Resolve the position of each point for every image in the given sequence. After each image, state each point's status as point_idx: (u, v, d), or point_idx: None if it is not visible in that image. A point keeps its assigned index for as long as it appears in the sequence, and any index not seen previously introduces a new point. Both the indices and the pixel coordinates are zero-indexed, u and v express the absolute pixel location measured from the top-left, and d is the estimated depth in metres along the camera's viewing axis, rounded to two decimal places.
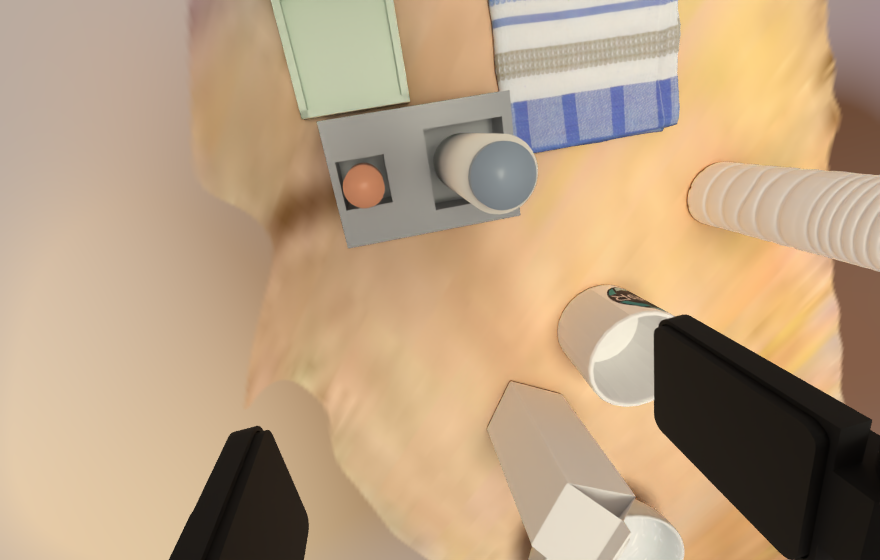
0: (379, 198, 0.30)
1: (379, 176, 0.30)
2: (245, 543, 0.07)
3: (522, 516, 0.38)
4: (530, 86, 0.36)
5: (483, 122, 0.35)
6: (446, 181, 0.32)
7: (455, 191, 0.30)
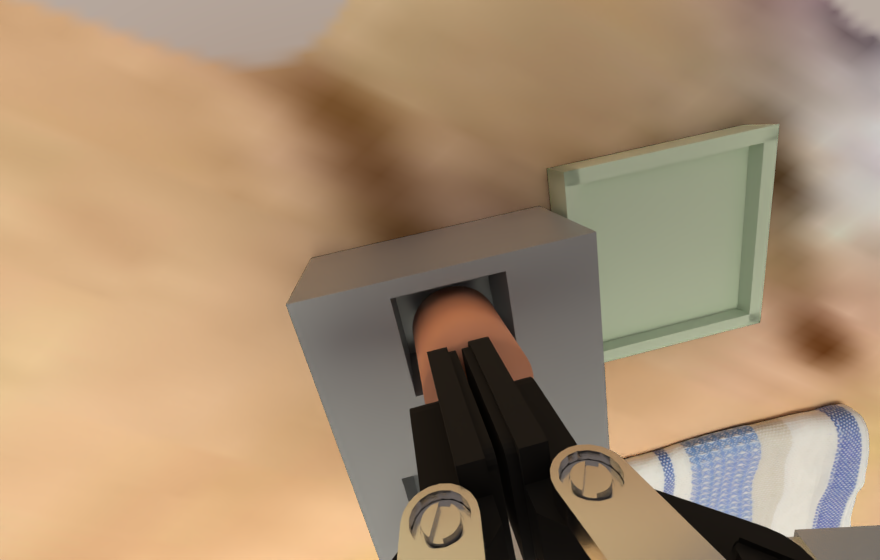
0: None
1: None
2: None
3: None
4: None
5: None
6: None
7: None
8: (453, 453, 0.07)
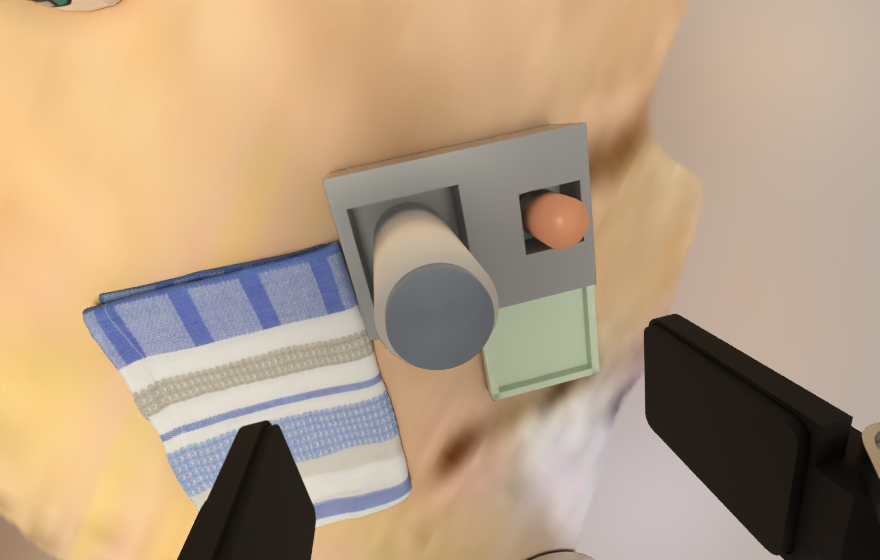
0: (546, 210, 0.23)
1: (543, 238, 0.23)
2: (256, 533, 0.07)
3: None
4: (326, 329, 0.29)
5: None
6: None
7: (454, 234, 0.20)
8: None
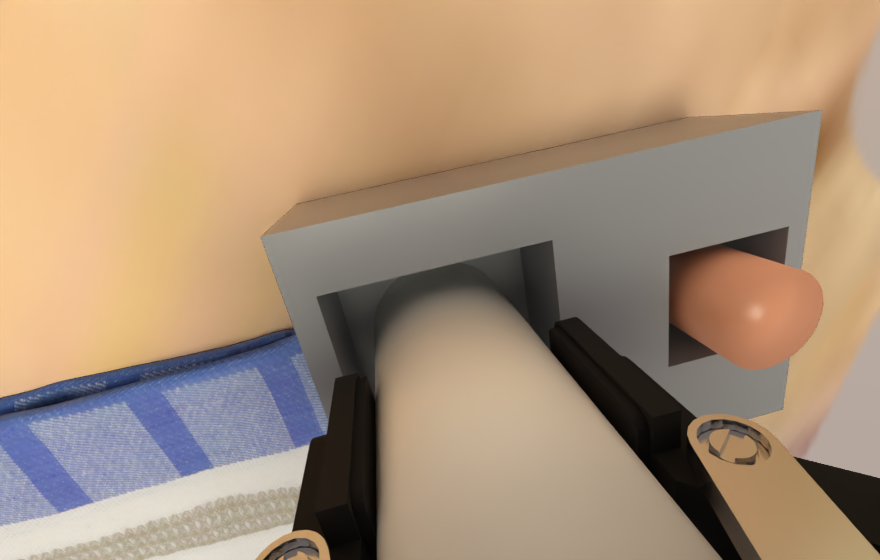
0: (744, 298, 0.11)
1: (728, 351, 0.11)
2: (371, 459, 0.08)
3: None
4: (293, 470, 0.17)
5: None
6: None
7: (576, 384, 0.08)
8: (318, 497, 0.07)
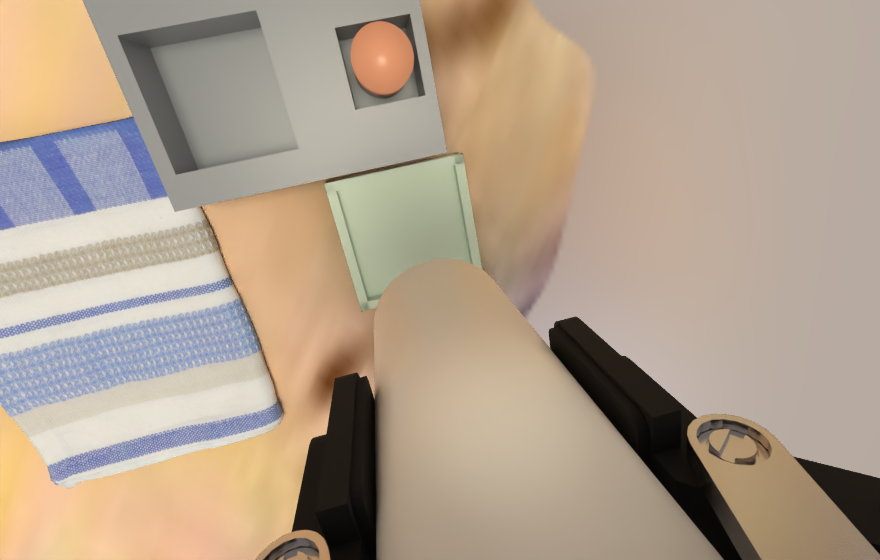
0: (357, 38, 0.19)
1: (359, 76, 0.20)
2: (371, 459, 0.08)
3: None
4: (152, 218, 0.25)
5: (209, 162, 0.24)
6: None
7: (577, 383, 0.08)
8: (318, 497, 0.07)
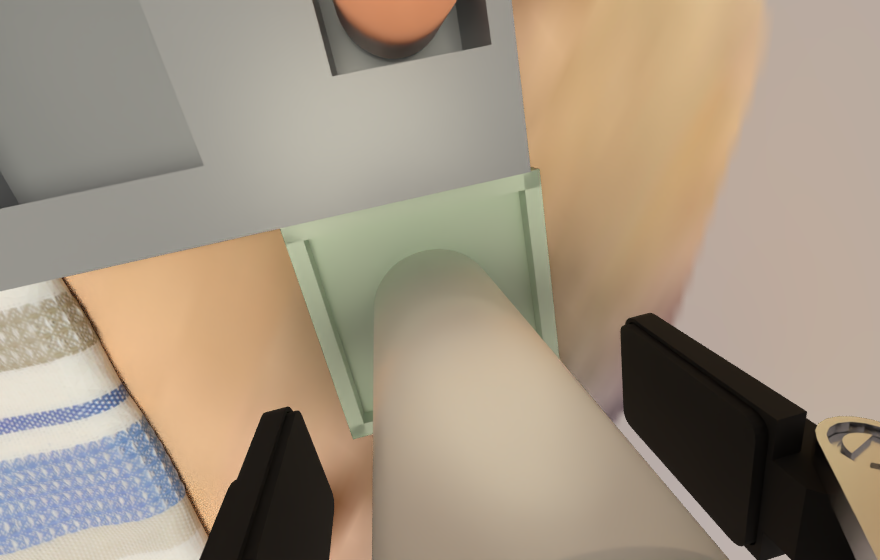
0: None
1: None
2: (285, 511, 0.07)
3: None
4: None
5: (42, 189, 0.12)
6: None
7: (545, 344, 0.10)
8: None
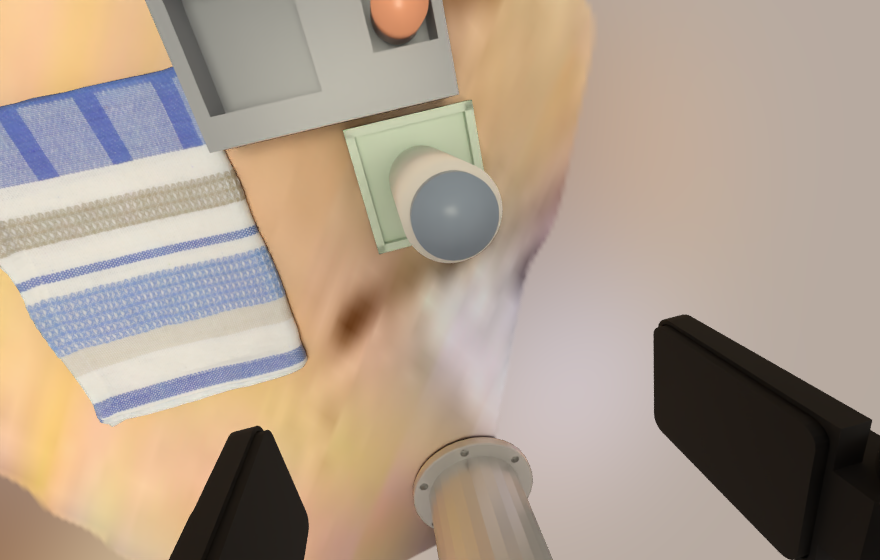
0: None
1: (379, 17, 0.21)
2: (245, 543, 0.07)
3: None
4: (184, 167, 0.27)
5: (237, 109, 0.26)
6: None
7: None
8: None
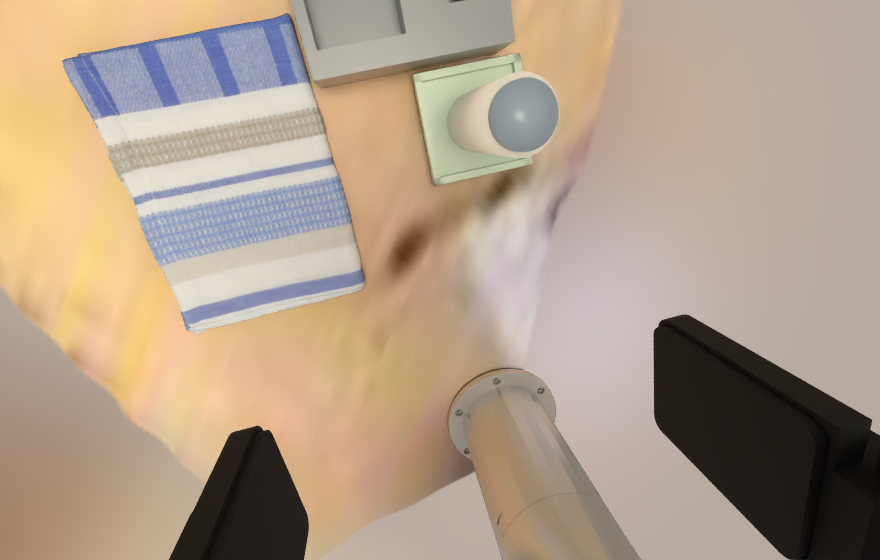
0: None
1: None
2: (245, 543, 0.07)
3: None
4: (281, 101, 0.33)
5: None
6: None
7: None
8: None
